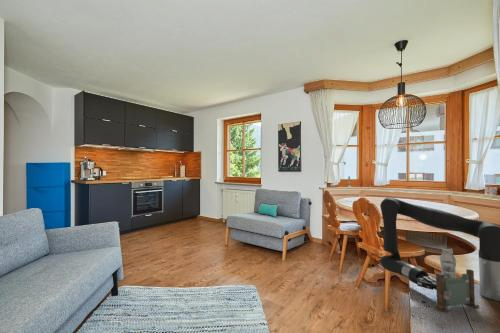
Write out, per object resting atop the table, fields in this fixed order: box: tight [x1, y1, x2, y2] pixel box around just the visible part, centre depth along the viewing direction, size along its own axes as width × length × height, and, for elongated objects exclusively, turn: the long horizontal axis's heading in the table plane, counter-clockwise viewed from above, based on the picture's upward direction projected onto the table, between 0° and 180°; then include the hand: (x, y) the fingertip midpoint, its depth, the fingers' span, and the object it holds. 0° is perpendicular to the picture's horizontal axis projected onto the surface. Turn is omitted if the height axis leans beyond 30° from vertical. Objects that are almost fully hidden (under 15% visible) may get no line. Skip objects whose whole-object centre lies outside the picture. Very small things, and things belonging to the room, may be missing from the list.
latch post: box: [433, 272, 451, 314], centre depth 105 cm, size 4×4×15 cm
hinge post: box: [464, 269, 480, 309], centre depth 108 cm, size 4×4×15 cm
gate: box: [444, 273, 470, 308], centre depth 106 cm, size 12×2×12 cm, turn 102°
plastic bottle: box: [439, 246, 457, 279], centre depth 123 cm, size 6×7×20 cm
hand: (447, 291), depth 106 cm, fingers closed
